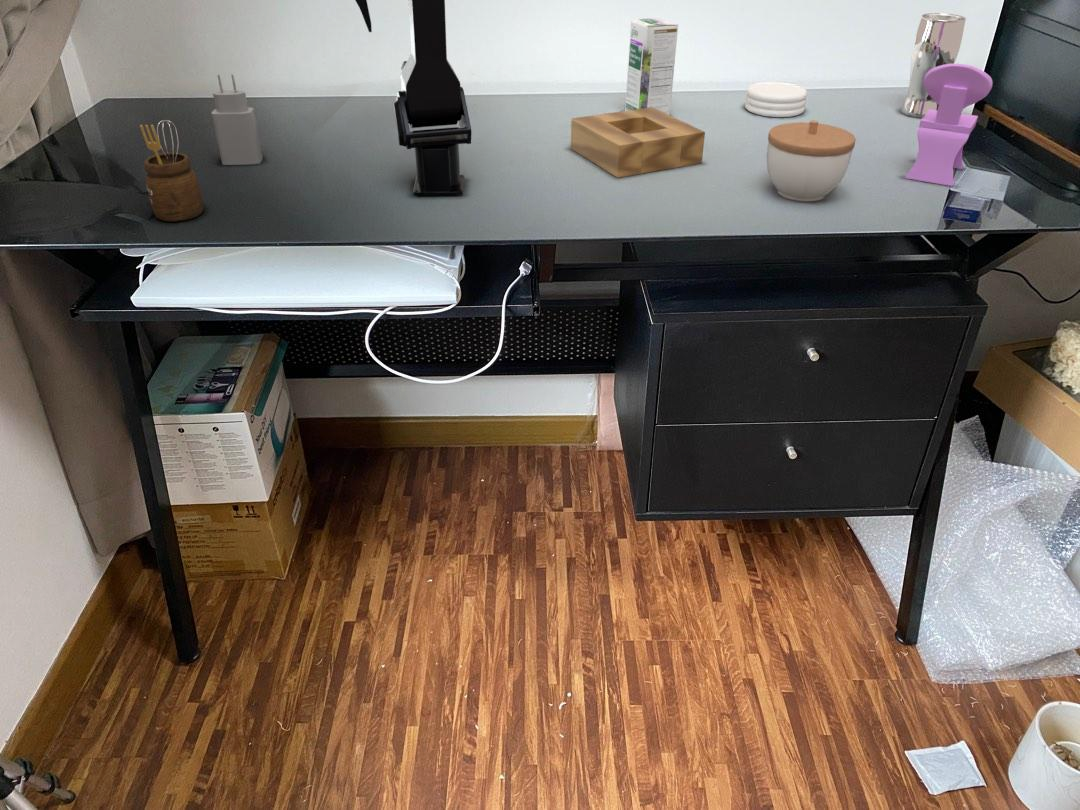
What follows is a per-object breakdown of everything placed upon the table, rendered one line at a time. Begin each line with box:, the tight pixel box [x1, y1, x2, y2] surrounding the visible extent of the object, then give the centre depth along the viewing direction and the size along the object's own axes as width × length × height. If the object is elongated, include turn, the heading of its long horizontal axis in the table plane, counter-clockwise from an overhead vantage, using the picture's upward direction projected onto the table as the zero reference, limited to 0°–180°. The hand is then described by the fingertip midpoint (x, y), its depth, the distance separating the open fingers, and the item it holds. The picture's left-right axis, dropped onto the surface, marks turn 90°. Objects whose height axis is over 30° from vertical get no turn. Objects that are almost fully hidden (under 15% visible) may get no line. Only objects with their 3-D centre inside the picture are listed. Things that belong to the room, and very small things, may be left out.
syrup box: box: [624, 17, 679, 116], centre depth 139 cm, size 6×6×14 cm
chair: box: [904, 63, 994, 187], centre depth 115 cm, size 8×9×15 cm
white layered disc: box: [744, 81, 808, 118], centre depth 144 cm, size 10×10×4 cm
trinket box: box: [766, 119, 857, 202], centre depth 110 cm, size 11×11×9 cm
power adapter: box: [211, 74, 264, 166], centre depth 120 cm, size 3×5×12 cm, turn 94°
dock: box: [570, 107, 706, 179], centre depth 124 cm, size 14×14×4 cm
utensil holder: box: [139, 119, 204, 223], centre depth 103 cm, size 6×6×12 cm
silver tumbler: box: [900, 12, 967, 119], centre depth 140 cm, size 7×7×15 cm
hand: (400, 29), depth 128 cm, fingers open, 9 cm apart
